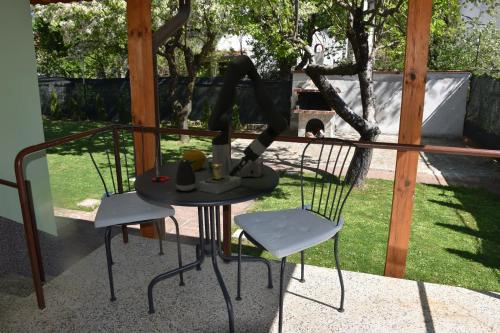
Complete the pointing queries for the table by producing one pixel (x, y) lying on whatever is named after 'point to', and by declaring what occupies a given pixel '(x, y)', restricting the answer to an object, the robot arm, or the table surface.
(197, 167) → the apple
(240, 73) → the robot arm
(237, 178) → the hitch plate
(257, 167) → the stone
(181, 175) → the dark grey ribbed bell
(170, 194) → the table surface
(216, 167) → the gold cylinder
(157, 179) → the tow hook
